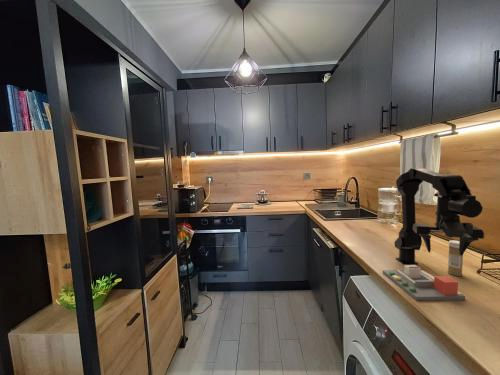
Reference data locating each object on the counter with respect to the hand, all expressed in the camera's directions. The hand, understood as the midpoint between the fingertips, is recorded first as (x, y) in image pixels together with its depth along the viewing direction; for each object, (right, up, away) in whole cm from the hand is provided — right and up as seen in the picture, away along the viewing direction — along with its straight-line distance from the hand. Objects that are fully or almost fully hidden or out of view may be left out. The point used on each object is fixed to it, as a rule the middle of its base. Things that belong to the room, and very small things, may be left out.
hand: (444, 253), depth 83 cm
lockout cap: (-3, -12, -3) cm, 13 cm away
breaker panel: (-6, -13, +4) cm, 15 cm away
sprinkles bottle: (+14, -12, +11) cm, 21 cm away
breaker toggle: (-6, -11, +8) cm, 15 cm away
